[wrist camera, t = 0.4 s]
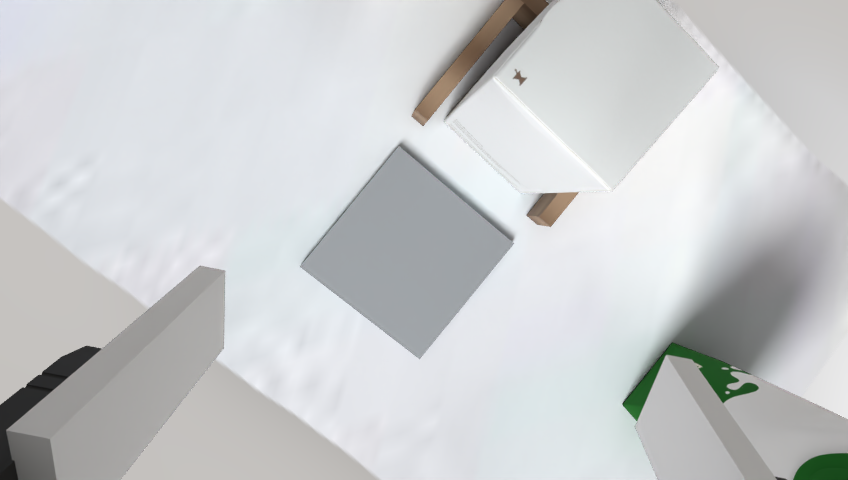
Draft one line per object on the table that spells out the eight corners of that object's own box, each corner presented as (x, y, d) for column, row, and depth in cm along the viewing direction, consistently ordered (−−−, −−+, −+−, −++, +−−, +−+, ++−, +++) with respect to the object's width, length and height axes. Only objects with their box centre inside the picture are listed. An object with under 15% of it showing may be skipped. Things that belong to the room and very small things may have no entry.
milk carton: (670, 327, 43) (933, 440, 23) (741, 388, 44) (1046, 544, 24) (607, 406, 43) (815, 588, 23) (679, 465, 44) (936, 684, 24)
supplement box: (521, 198, 40) (611, 199, 26) (440, 121, 39) (486, 76, 24) (595, 115, 40) (727, 68, 26) (516, 36, 39) (608, -62, 24)
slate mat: (398, 146, 39) (398, 145, 38) (511, 242, 40) (514, 243, 40) (300, 265, 39) (299, 266, 38) (418, 356, 40) (419, 359, 40)
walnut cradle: (510, -5, 39) (522, -22, 36) (631, 109, 41) (652, 102, 38) (411, 115, 39) (415, 109, 36) (537, 224, 41) (550, 226, 38)
